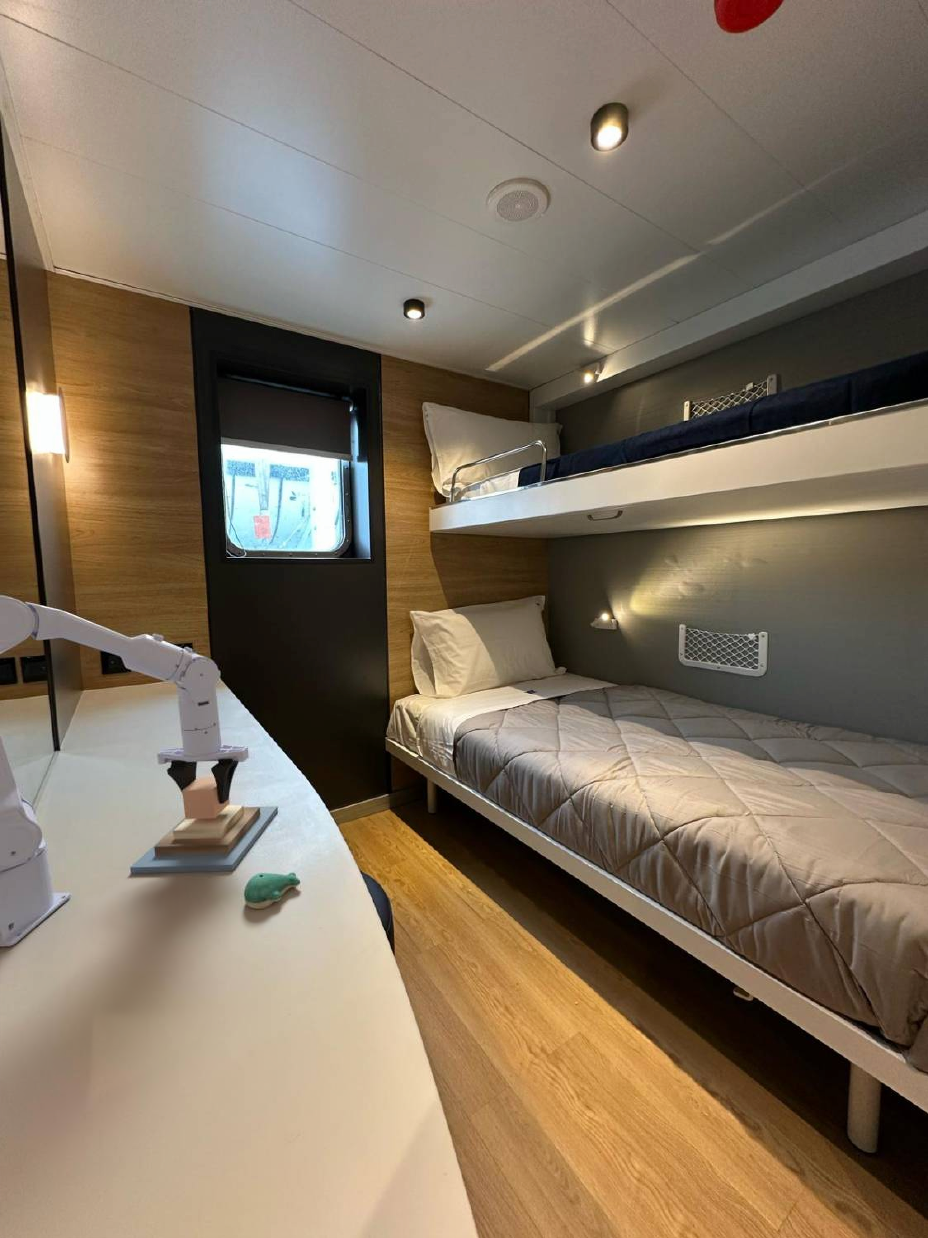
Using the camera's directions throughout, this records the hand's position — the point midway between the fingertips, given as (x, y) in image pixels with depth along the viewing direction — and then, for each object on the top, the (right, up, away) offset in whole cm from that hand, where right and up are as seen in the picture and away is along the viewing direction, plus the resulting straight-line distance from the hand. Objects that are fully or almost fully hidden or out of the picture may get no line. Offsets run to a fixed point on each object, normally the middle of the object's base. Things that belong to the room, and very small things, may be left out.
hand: (208, 801), depth 84 cm
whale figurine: (+17, -9, -14) cm, 23 cm away
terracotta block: (0, -2, 0) cm, 2 cm away
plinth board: (0, -7, +1) cm, 7 cm away
